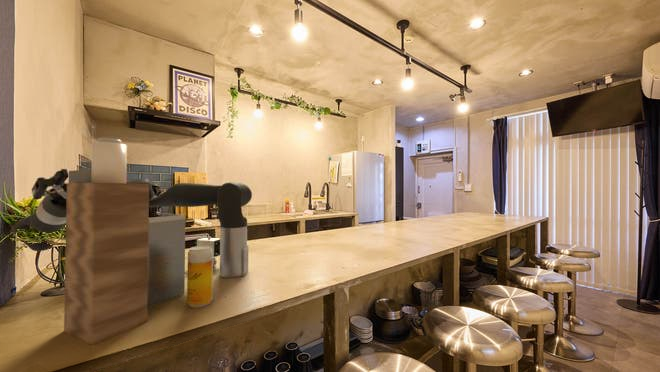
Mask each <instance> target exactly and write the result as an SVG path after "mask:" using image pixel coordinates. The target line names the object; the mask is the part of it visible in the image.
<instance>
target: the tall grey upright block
mask: <svg viewBox="0 0 660 372" xmlns="http://www.w3.org/2000/svg"><path fill="white" fill-rule="evenodd" d="M185 264H186V214H180V213H179V214H177V213H160V216H156V217H149V228H148V299H147V309H150V308H153V307H155V306H158V305H160V304H162V303H165V302H168V301H170V300H172V299H175V298H178V297H180V296H183V295H185V289H186V288H185V285H186V284H185V280H186V278H185V277H186V276H185V274H186V273H185V271H186V269H185V268H186V265H185ZM167 300H168V301H167Z"/></svg>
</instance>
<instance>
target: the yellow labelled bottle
mask: <svg viewBox="0 0 660 372" xmlns="http://www.w3.org/2000/svg"><path fill="white" fill-rule="evenodd" d="M213 274H214V266H213V250H212V248H211V246H195V247H193V246H192V247H190V248H189V249H188V252H187V279H186V280H187V282H186V284H187V285H186V287H187V289H186V290H187V293H186V299H187V302H186V303H187V305H188V306H189V307H190V308H195V309H196V308H203V307H205V306H208V305H209V304H210V303H211V302H212V300H213V295H214V294H213V293H214V292H213V289H214V286H213V284H214V281H213V279H214V277H213Z"/></svg>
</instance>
